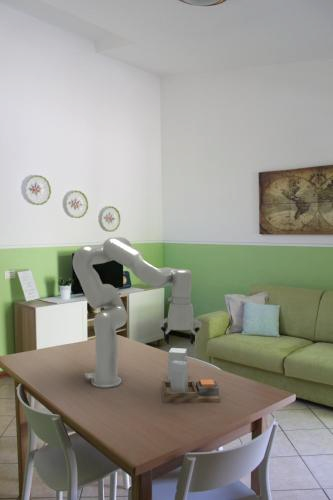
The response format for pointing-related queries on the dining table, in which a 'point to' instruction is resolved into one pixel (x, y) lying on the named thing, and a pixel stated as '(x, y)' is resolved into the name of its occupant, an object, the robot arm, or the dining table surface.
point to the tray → (190, 393)
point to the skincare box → (179, 376)
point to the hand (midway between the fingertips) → (179, 343)
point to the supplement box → (176, 357)
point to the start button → (207, 383)
